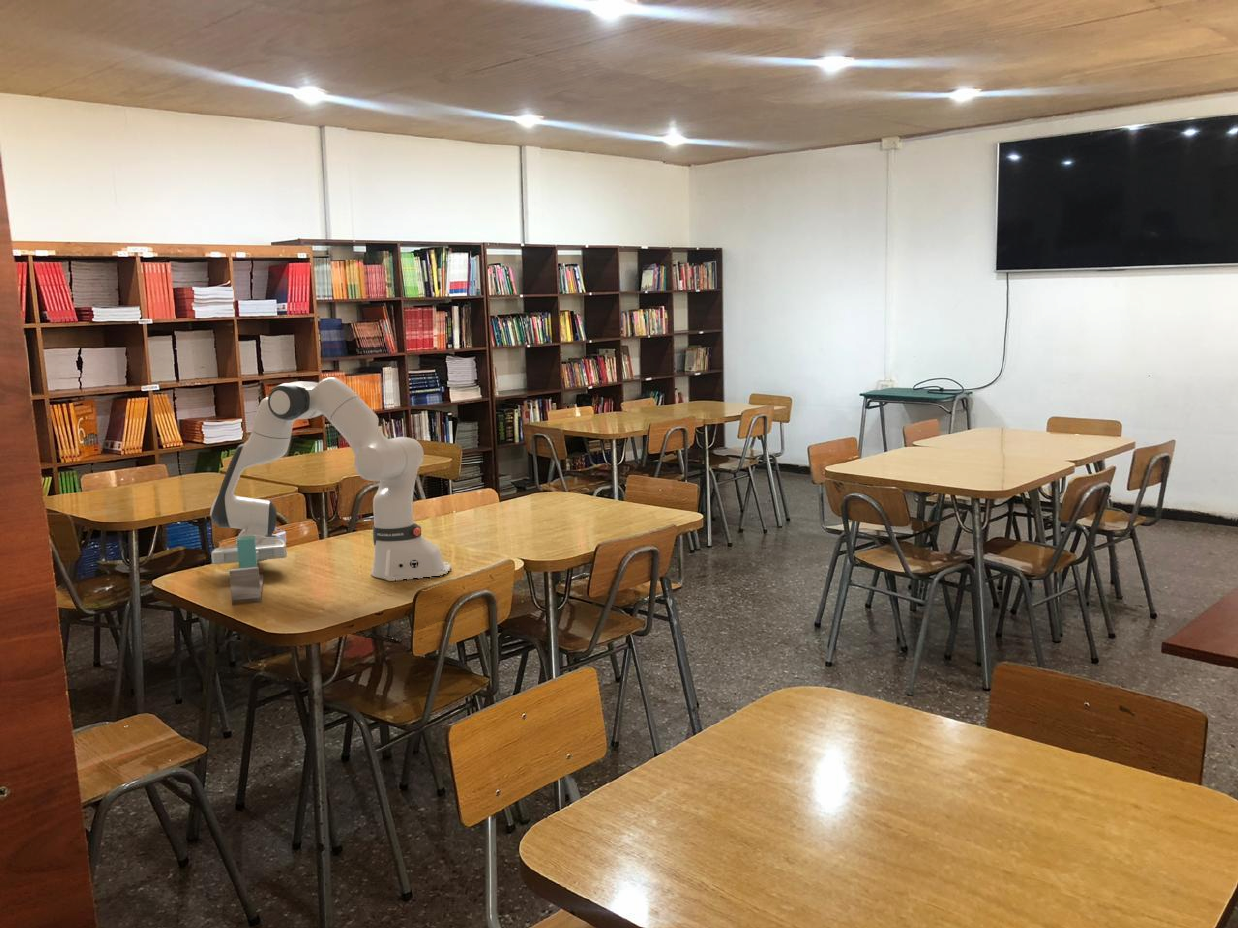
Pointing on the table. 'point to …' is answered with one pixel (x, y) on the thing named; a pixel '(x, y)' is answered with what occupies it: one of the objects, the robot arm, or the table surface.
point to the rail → (246, 585)
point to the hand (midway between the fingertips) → (248, 559)
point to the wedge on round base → (280, 534)
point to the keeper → (246, 552)
